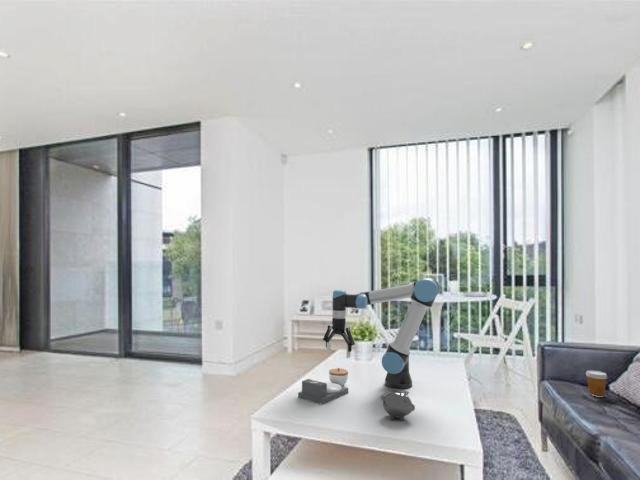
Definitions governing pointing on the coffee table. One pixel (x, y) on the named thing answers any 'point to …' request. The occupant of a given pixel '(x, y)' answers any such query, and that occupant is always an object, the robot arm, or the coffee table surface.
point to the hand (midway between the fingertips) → (338, 355)
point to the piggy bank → (397, 404)
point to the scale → (321, 391)
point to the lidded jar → (338, 376)
